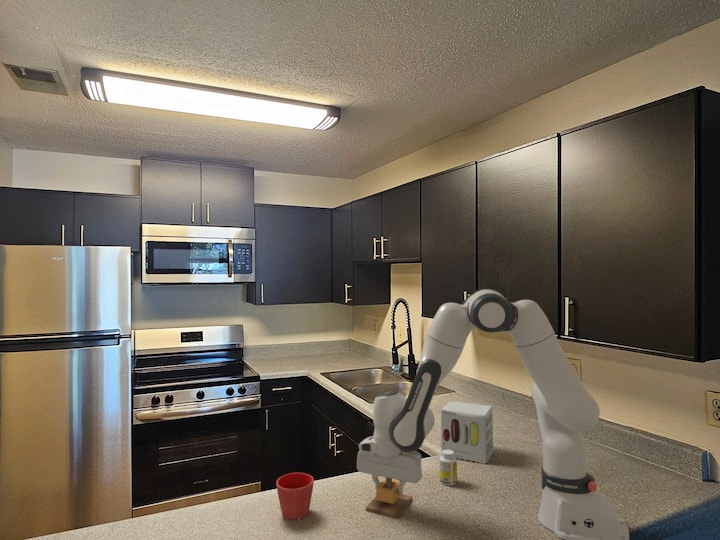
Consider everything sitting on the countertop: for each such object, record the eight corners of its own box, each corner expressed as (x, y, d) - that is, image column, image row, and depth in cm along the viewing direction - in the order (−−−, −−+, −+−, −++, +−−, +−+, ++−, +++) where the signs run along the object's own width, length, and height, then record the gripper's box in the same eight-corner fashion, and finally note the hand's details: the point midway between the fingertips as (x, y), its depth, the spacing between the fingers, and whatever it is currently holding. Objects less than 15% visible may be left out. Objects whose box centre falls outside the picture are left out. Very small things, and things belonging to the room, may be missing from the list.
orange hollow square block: (401, 493, 141) (401, 481, 141) (393, 503, 135) (392, 491, 135) (385, 489, 143) (385, 478, 143) (376, 499, 137) (376, 488, 137)
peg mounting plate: (411, 499, 142) (411, 470, 142) (397, 518, 131) (396, 486, 131) (382, 492, 147) (381, 464, 147) (365, 510, 136) (365, 480, 136)
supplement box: (440, 457, 174) (439, 409, 175) (450, 445, 186) (449, 400, 186) (486, 465, 167) (485, 415, 167) (494, 452, 178) (493, 405, 178)
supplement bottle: (454, 478, 156) (453, 448, 156) (459, 485, 151) (458, 454, 151) (438, 479, 156) (437, 448, 156) (442, 486, 150) (442, 455, 150)
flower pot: (317, 519, 132) (317, 485, 132) (278, 526, 128) (278, 491, 129) (310, 501, 142) (310, 470, 142) (274, 507, 139) (274, 475, 139)
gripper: (424, 447, 137) (425, 493, 137) (363, 437, 146) (363, 480, 146) (417, 454, 132) (418, 503, 131) (353, 443, 141) (354, 489, 141)
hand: (389, 491), depth 139 cm, fingers closed on orange hollow square block, 5 cm apart
